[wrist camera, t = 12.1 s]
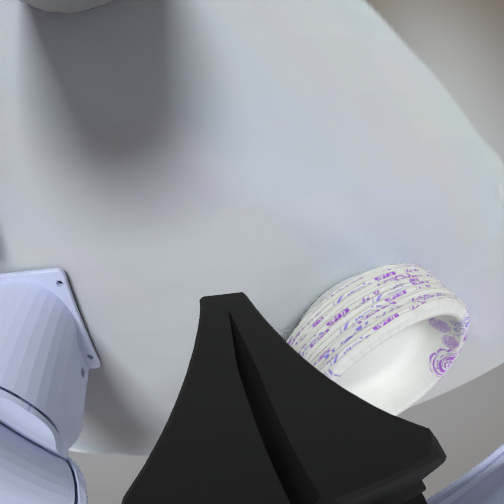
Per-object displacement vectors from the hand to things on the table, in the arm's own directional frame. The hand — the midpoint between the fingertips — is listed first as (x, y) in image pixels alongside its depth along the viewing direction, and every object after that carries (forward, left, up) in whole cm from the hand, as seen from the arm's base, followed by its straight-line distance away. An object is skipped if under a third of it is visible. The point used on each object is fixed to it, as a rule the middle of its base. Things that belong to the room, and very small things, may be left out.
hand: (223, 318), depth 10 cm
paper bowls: (-11, -12, -10) cm, 19 cm away
